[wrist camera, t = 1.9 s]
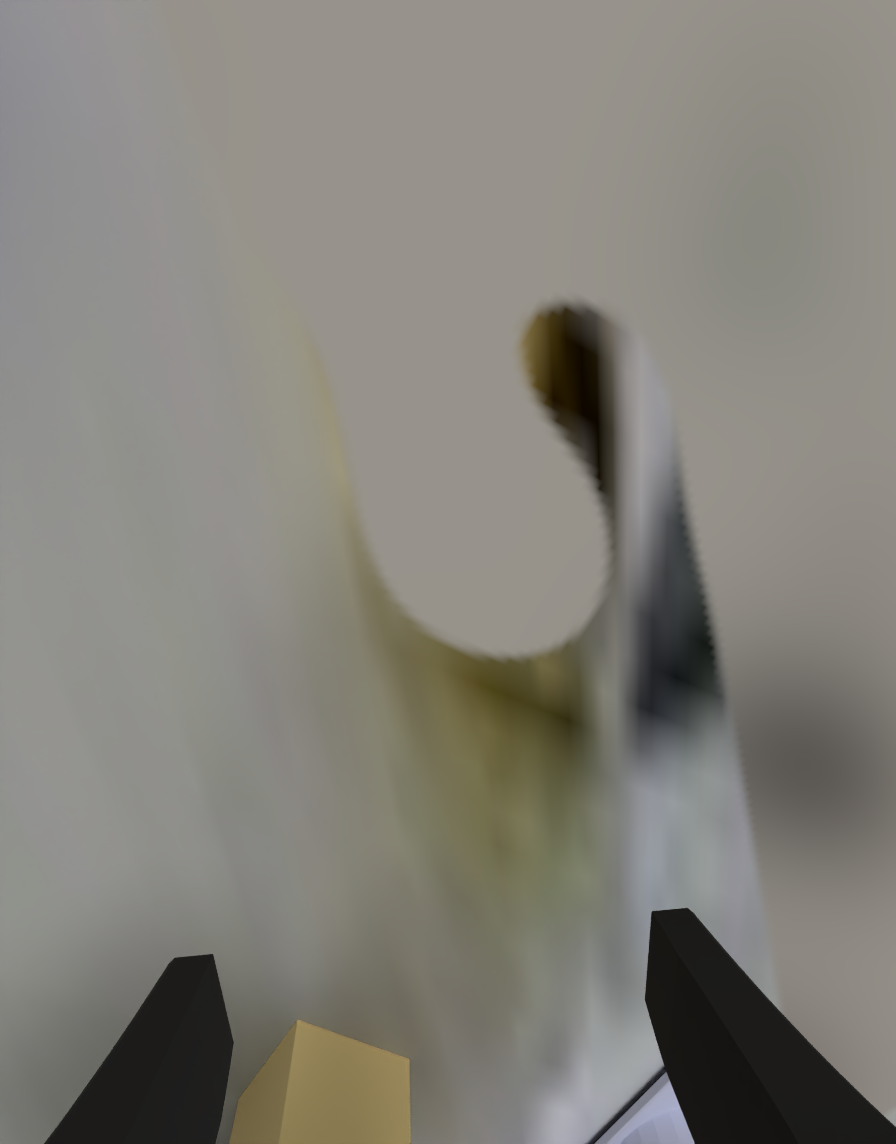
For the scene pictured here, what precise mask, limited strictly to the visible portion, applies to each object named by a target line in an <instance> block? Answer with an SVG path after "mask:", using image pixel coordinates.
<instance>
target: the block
mask: <svg viewBox="0 0 896 1144" xmlns="http://www.w3.org/2000/svg"><path fill="white" fill-rule="evenodd" d="M229 1144H411V1135H410V1059H407V1058H405V1057H402V1056H399V1055H396V1054H393V1053H391V1052H388V1051H385V1050H382V1049H379V1048H376V1047H374V1046H371V1045H368V1044H365V1043H362V1042H360V1041H357V1040H354V1039H351V1038H348V1037H345V1036H343V1035H340V1034H337V1033H334V1032H331V1031H329V1030H326V1029H323V1028H320V1027H317V1026H314V1025H312V1024H309V1023H306V1022H303V1021H300V1020H297V1021H296V1022H295V1024H294V1025H293V1026H292V1028H291V1029H290V1030H289V1032H288V1033H287V1035H286V1036H285V1037H284V1039H283V1040H282V1041H281V1043H280V1044H279V1045H278V1047H277V1048H276V1049H275V1051H274V1052H273V1053H272V1055H271V1056H270V1057H269V1059H268V1060H267V1061H266V1063H265V1064H264V1065H263V1067H262V1068H261V1069H260V1071H259V1072H258V1074H257V1075H256V1076H255V1078H254V1079H253V1080H252V1082H251V1083H250V1084H249V1086H248V1087H247V1088H246V1090H245V1091H244V1092H243V1094H242V1095H241V1096H240V1098H239V1100H238V1105H237V1110H236V1114H235V1119H234V1124H233V1129H232V1133H231V1138H230V1143H229Z"/></svg>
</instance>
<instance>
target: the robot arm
mask: <svg viewBox="0 0 896 1144" xmlns="http://www.w3.org/2000/svg"><path fill="white" fill-rule="evenodd" d="M645 1002H646V1005H647V1009H648V1012H649V1016H650V1019H651V1023H652V1026H653V1029H654V1033H655V1036H656V1040H657V1043H658V1046H659V1050H660V1053H661V1056H662V1060H663V1063H664V1066H665V1069H666V1072H665V1073H664V1074H663V1075H662V1076H661V1077H660V1078H659V1079H658V1080H657V1081H656V1082H655V1083H654V1084H653V1085H652V1086H651V1087H650V1088H649V1089H648V1090H647V1091H646V1092H645V1093H644V1094H643V1095H642V1096H641V1097H640V1099H639V1100H638V1101H637V1102H636V1103H635V1104H634V1105H633V1106H632V1107H631V1108H630V1109H629V1110H628V1111H627V1112H626V1113H625V1114H624V1115H623V1116H622V1117H621V1118H620V1119H619V1120H618V1121H617V1122H616V1123H615V1124H614V1125H613V1126H612V1127H611V1128H610V1129H609V1130H608V1131H607V1132H606V1133H605V1134H604V1135H603V1136H602V1137H601V1138H600V1139H599V1140H598V1141H597V1142H596V1143H595V1144H896V1127H895V1126H894V1125H893V1124H892V1123H891V1122H890V1121H889V1120H888V1119H886V1118H885V1117H884V1116H883V1115H882V1114H881V1113H880V1112H879V1111H878V1110H877V1109H876V1108H875V1107H874V1106H873V1105H872V1104H870V1102H869V1101H867V1100H866V1099H865V1098H864V1097H863V1096H862V1095H861V1094H860V1093H859V1092H858V1091H857V1090H856V1089H855V1088H854V1087H853V1086H852V1085H851V1084H850V1083H849V1082H848V1081H847V1080H846V1079H845V1078H844V1077H843V1076H842V1075H841V1074H840V1073H839V1072H838V1071H837V1070H836V1069H835V1068H834V1067H833V1066H832V1065H831V1064H830V1063H829V1062H828V1061H827V1060H826V1059H825V1058H824V1057H823V1056H822V1055H821V1054H820V1053H819V1052H818V1051H817V1050H816V1049H815V1048H814V1047H813V1046H812V1045H811V1044H810V1043H809V1042H808V1041H807V1040H806V1039H805V1038H804V1036H803V1035H802V1034H801V1033H800V1032H799V1031H798V1030H797V1029H796V1028H795V1027H794V1026H793V1025H792V1024H791V1023H790V1022H789V1020H788V1019H787V1018H786V1017H785V1016H784V1015H783V1014H782V1013H781V1012H780V1011H779V1010H778V1009H777V1008H776V1007H775V1006H774V1005H773V1003H772V1002H771V1001H770V1000H769V999H768V998H767V997H766V996H765V995H764V994H763V992H762V991H761V990H760V989H759V988H758V987H757V986H756V985H755V984H754V983H753V981H752V980H751V979H750V978H749V977H748V976H747V975H746V973H745V972H744V971H743V970H742V969H741V968H740V967H739V966H738V964H737V963H736V962H735V961H734V960H733V959H732V958H731V956H730V955H729V954H728V953H727V952H726V951H725V950H724V948H723V947H722V946H721V945H720V944H719V943H718V941H717V940H716V939H715V938H714V937H713V935H712V934H711V933H710V932H709V931H708V930H707V928H706V927H705V926H704V925H703V924H702V923H701V921H700V920H699V919H698V918H697V917H696V915H695V914H694V913H693V912H692V911H691V910H689V909H688V908H682V909H672V910H661V911H652V914H651V927H650V940H649V954H648V967H647V980H646V993H645ZM232 1049H233V1038H232V1034H231V1030H230V1025H229V1021H228V1017H227V1012H226V1008H225V1004H224V999H223V995H222V991H221V986H220V982H219V978H218V973H217V969H216V965H215V960H214V956H213V954H209V955H199V956H188V957H178V958H174V959H173V960H172V961H171V962H170V963H169V964H168V966H167V968H166V969H165V971H164V972H163V974H162V975H161V977H160V978H159V980H158V981H157V983H156V984H155V986H154V988H153V989H152V991H151V992H150V994H149V995H148V997H147V998H146V1000H145V1001H144V1003H143V1004H142V1006H141V1007H140V1009H139V1010H138V1012H137V1013H136V1015H135V1016H134V1018H133V1019H132V1021H131V1022H130V1024H129V1025H128V1027H127V1028H126V1030H125V1031H124V1033H123V1034H122V1036H121V1037H120V1039H119V1040H118V1042H117V1043H116V1045H115V1046H114V1047H113V1049H112V1050H111V1052H110V1053H109V1055H108V1056H107V1058H106V1059H105V1061H104V1062H103V1063H102V1065H101V1066H100V1068H99V1069H98V1070H97V1072H96V1073H95V1075H94V1076H93V1077H92V1079H91V1080H90V1082H89V1083H88V1084H87V1086H86V1087H85V1089H84V1090H83V1092H82V1093H81V1094H80V1096H79V1097H78V1099H77V1100H76V1101H75V1103H74V1104H73V1106H72V1107H71V1108H70V1110H69V1111H68V1113H67V1114H66V1115H65V1117H64V1118H63V1119H62V1121H61V1122H60V1124H59V1125H58V1126H57V1128H56V1129H55V1130H54V1131H53V1133H52V1134H51V1135H50V1137H49V1138H48V1139H47V1141H46V1142H45V1143H44V1144H215V1142H216V1138H217V1134H218V1130H219V1126H220V1122H221V1117H222V1111H223V1105H224V1100H225V1094H226V1088H227V1082H228V1075H229V1069H230V1062H231V1056H232Z"/></svg>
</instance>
